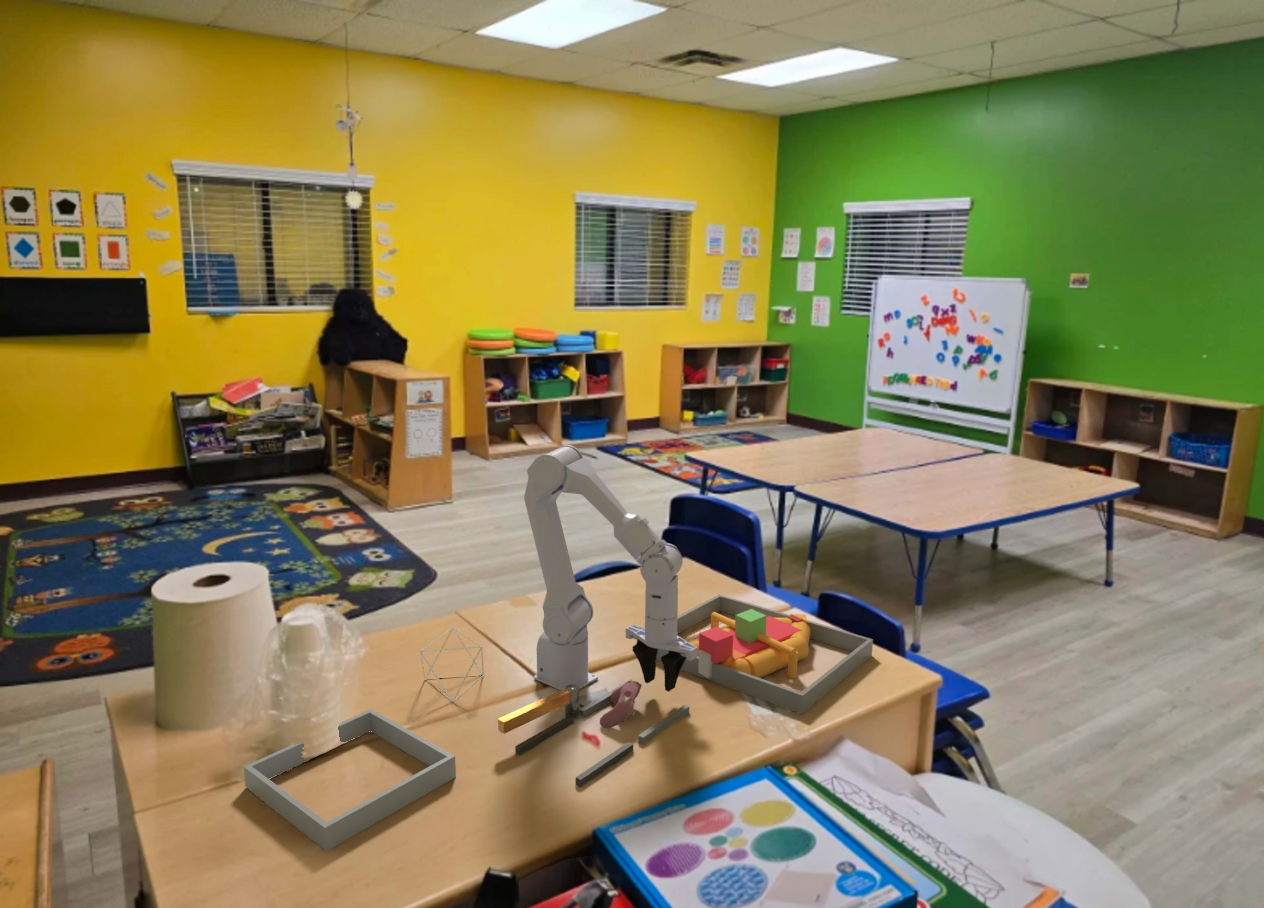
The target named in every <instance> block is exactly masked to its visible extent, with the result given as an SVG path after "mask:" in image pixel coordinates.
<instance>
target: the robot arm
mask: <svg viewBox="0 0 1264 908" xmlns="http://www.w3.org/2000/svg"><path fill="white" fill-rule="evenodd" d="M526 472H527V476H528V478H527V482H526V486H525V491H524V495H523V497H524V498H523V499H524V503H525V506H526V512H527V516H528V519H529V523H530V528H531V532H532V535H533V540H534V545H535V547H536V548H535V549H536V551H537V556H538V559H539V560H538V561H539V563H540V569H541V571H542V572H541V573H542V575H543V579H544V584H545V588H546V593H545V596H544V600H543V604H542V610H543V620H542V630H543V632H542V633H541V634H540V636H539V637H538V640H537V644H536V674H535V675H533V679H534V680H535V681H538V682H540V683H542V684H545V685H547V686H550V687H552V688H554V689H556V690H559V691H561V690H563V689H565V687H566V686H567V685H572V684H573V685H577V686H579V690H580V689H583V688H584V687H586V686H588V685H589V684H591V683H594V682H595V681H597V680H598V679H599V677H598V675H596V674H594V673H591V672H589V631H588V624H589V623H590V622H591V621H592V619H593V616H594V608H593V605H592V603H591V601H590V600H589V599H588V597H587V596H586V594H585V590H584V587H583V586H582V585H580V584H579V583H578V582H577V581H576V578H575V575H574V571H573V567H572V562H571V557H570V554H569V550H568V545H567V541H566V537H565V533H564V530H563V529H564V528H563V526H562V525H563V524H562V521H561V517H560V513H559V509H558V506H557V505H558V504H557V499H559V496H561V493H566V494H573V495H574V494H576V495H581V496H583V498H585V500H586V501H588V503H590V504H591V505H592V506H593V508H594V509H596V510H597V511H598V512H599V513H600V514H601V515H602V516H603V518H605V519H606V521H608V522H609V524H611V525H612V527H613V536H614V538H615V539H616V540H617V542H619V544H620V545H621V546H622V547H623V548H624V549H625V551H626V552H627V553H628V554H629V555H630V556H631V557H632V558H633V559H634V560H635V561H636V562H637V563H638V564H639V565H640V569H639V570H640V575H641V577H642V579H643V580H644V581H645V589H644V591H645V592H644V597H645V599H644V601H645V602H644V608H645V609H644V626H638V625H635V624H631V625H628V626H626V627H625V639H628V640H631V639H634V640H636V644H634V645H633V646H632V652H633V653H634V655H635V657H636V658H637V661H638V663H639V665H640V668H641V672H642V675H643V676H642V677H643V679H644V683H645V684H649V683H650V682H652V681H654V680H655V678H656V671H657V670H656V665H657V664H656V663H657V660H656V657H657V651H658V649H663V650H667V651H669V653H668V654H666V655H664V656H662V657H661V661H662V662H661V663H662V666H663V672H664V690H665V691H666V692H670V691H672V690H674V689H675V688H676V685H677V681H678V677H679V674H680V671H682V670H681V668H682V666H683V664H684V662H685V660H686V659H687V660H689V661H692V660H694V659H695V658H697V650H698V647H696V646H693V645H692V643H689V642H688V641H686V640H685V639H684V638H682V637H681V636H679V634H678V632H677V616H678V613H679V611H678V607H679V604H678V603H679V588H678V585H679V584H678V583H679V575H677V574H678V573H679V571H680V570H681V569H682V566H683V556H682V554H681V553H682V552H680V551H679V549H678V547H677V546H676V545H674V544H672V543H668V542H667V541H666V540H665V539H662V538H660V536H659V535H658V534H657V533H656V532H655V531H654V530H653V528H651V526H649V525H648V524H649V523H650V521H649V520H648V519H647V518H646V517H641V516H640V515H639V514H638V513H631V512H628V511H627V509H625V507H624V506H623V505H622V503H620V502H619V500H618V498H616V496H615V495H614V494H613V492H612V491H611V490H610V489H609V487H608V486H607V485H606V483H604V481H603V480H602V479H601V478H600V476H599V475H598V474H597V473H596V471H595V470H594V467H593V465H592V463H591V461H590V460H589V458H587V457H585V456H584V455H583V453H582V452H581V451H580V450H579V449H578V448H577V447H576V446H573V445H569V444H564V445H561V446H560V447H557V448H556V449H553V450H552V451H550V452H548V453H544V454H541V455H539V456H537V457H535V459H534V460H533V462H532V463H530V466H528V468H527V469H526Z"/></svg>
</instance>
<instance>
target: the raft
mask: <svg viewBox="0 0 1264 908" xmlns="http://www.w3.org/2000/svg"><path fill="white" fill-rule="evenodd" d="M789 615H790V616H789V617H788V618H773V617H771V616H767V617H766V615H764V614H762V613H759V612H757V611H755V610H752V609H750V610H748V611H745V612H742V613H739V614H737V615H734V616H735V617H734V618H735V620H734V619H731V618H729V617H727V616H724V615H723V614H720V613H719V612H717V613H716V612H713V613H712V614H711V616H710V628H709V629H707V630H704V631H701V632H699V633H698V639H697V640H696V641H694V642H693V643H691V645H693V646H696V647H698V650H697V656H699V666H698V673H700V674H702V675H703V676H705V677H707V678H710V677H711V675H712V663H715V664H717V663H718V664H721V665H724V666H727V667H730V668H733V669H735V670H738V671H741V672H744V673H747V674H750V675H752V676H755V677H758V678H761V679H762V678H764V677H766V676H768V675H771V674H772V673H774V672H777V671H779V670H782V669H783V668H786V667H787V676H788V677H790V678H792V679H793V678H797V677H798V662H799V661H802V660H804V659H805V658H807V657H808V656H809V653H810V647H809V641H810V632H811V631H810V627H809V625H808V624H807V616H806V615H807V614H805V613H803V614H802V613H801V614H799V613H797V614H796V613H795V614H794V613H790V614H789ZM720 623H721V624H724V625H726V626H727V627H724V628H720Z"/></svg>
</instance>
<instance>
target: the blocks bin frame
mask: <svg viewBox="0 0 1264 908" xmlns="http://www.w3.org/2000/svg"><path fill="white" fill-rule="evenodd" d="M750 609H752V610H755V611H757V612H759V613H762V614H764V615H766V617H767V616H771V617H773V618H788V617H789V616H790V614H787V613H783V612H780V611H776V610H775V609H771V608H767V607H763V606H760V605H756V604H753V603H749V602H746V601H742V600H740V599H736V598H733V597H730V596H729V597H728V596H725V595H723V594H717V595H715V596H714V597H712V598H710V599H708V600H706V601H704V602H701V603H700V604H698V605H696V606H694V607H692V608H691V609H689V610H687V611H685V612H683V613H682V614H679V615H677V632H678V635H679V634H681V633H682V632H684V631H686V630H687V629H690V628H691V627H693V626H695V625H697V624H699V623H701V622H702V621H704V620H706V619H707V618H711V614H712V613H713V612H716V613H719V612H722V613H725V614H729V615H731V616H735V615H737V614H739V613H742V612H745V611H748V610H750ZM807 624H808V625H809V627H810V631H811V632H810V638H809V640H810V639H811V640H814V641H816V642H819V643H824V644H826V645H829V646H834V647H836V648H839V649H844V650H846V651H849V652H850V653H849V654H847V655H846V656H845V657H843V658H842V659H841V660H839V662H837V663H836V664H835V665H833V667H831V668H830V669H828V670H827V671H826V672H824V674H823V675H821V676H820V677H819V678H817V679H816V680H815V681H813V682H812V683H811V684H810V685H808V686H807V687H806V688H805V689H803V690H802V691H797V690H795V689H792V688H789V687H786V686H784V685H781V684H777V683H775V682H772V681H770V680H766V679H763V678H762V677H761V678H758V677H755V676H752V675H750V674H747V673H744V672H741V671H738V670H735V669H733V668H730V667H727V666H724V665H721V664H718V663H717V664H715V663H712V675H711V677H710V678H707V677H705V676H703V675H702V674H700V673H698V666H699V656H697V658H695V659H694V660H692V661H689V660H687V659H686V660H685V662H684V664H683V666H682V668H681V670H680V671H683V672H687V673H689V674H692V675H695V676H697V677H700V678H703V679H706V680H708V681H711V682H714V683H716V684H719V685H722V686H724V687H727V688H729V689H732V690H735V691H738V690H739V691H738V692H740V691H742V692H741V693H743V692H744V693H743V694H746V695H749V696H751V695H752V697H755V698H758V699H760V700H763V701H765V702H768V703H771V704H772V705H776V706H779V707H781V706H782V707H781V708H784V709H786V708H788V709H787V710H789V709H790V711H793V712H795V713H798V714H800V715H802V714H804V713H805V712H806V711H808V709H810V708H811V707H812V706H813V705H814V704H816V703H817V702H819V700H820V699H822V698H823V697H824V696H825V695H827V693H829V692H830V691H831V690H833V689H834V688H835V687H836V686H837V685H838V684H840V683H841V682H842V681H844V680H845V679H846V677H848V676H849V675H851V673H853V672H854V671H855V670H857V669H858V668H859V667H860V666H861V665H863V664H864V663H865V662H866V661H868V659H870V657H872V656H873V646H874V645H873V644H874V639H872V638H870V637H866V636H863V635H859V634H855V633H853V632H849V631H846V630H841V629H839V628H836V627H831V626H829V625H825V624H821V623H818V622H814V621H811V620H809V619H808V620H807ZM668 653H669V651H667V650H663V649H658V651H657V657H656V662H659V663H662V661H661V657H662V656H664V655H666V654H668Z"/></svg>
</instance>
